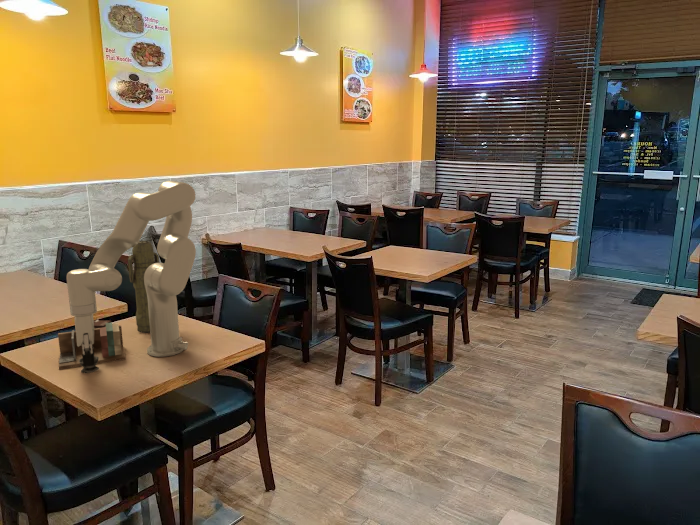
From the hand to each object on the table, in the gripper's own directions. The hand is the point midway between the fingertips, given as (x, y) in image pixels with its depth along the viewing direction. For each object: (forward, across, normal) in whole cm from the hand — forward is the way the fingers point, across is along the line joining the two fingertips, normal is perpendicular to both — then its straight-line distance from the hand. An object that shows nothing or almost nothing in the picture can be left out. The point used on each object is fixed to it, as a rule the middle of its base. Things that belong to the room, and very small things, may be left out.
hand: (89, 361), depth 175 cm
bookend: (+2, -12, -7) cm, 13 cm away
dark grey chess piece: (+3, 0, 0) cm, 3 cm away
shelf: (+3, -11, +1) cm, 12 cm away
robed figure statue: (+3, -33, +22) cm, 40 cm away
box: (+3, -26, +4) cm, 27 cm away
